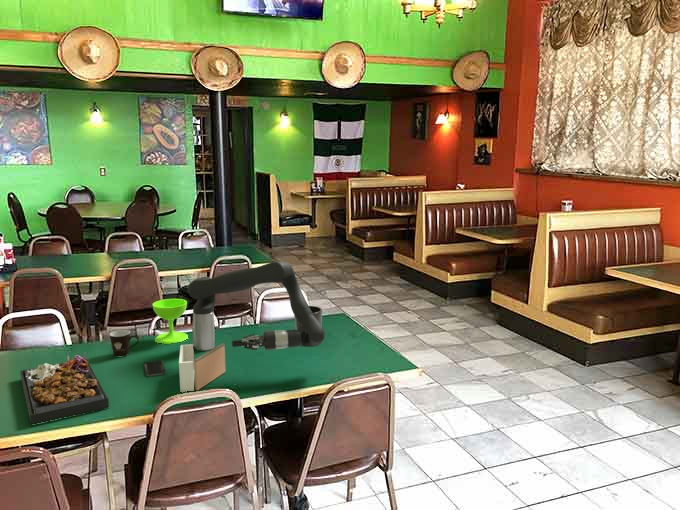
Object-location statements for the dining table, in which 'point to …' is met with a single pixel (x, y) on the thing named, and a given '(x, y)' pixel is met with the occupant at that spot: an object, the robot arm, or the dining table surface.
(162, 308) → the wineglass
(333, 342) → the dining table surface
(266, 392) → the dining table surface
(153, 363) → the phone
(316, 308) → the planter
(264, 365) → the dining table surface
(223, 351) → the panel
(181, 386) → the box
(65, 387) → the food platter
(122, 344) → the coffee mug
